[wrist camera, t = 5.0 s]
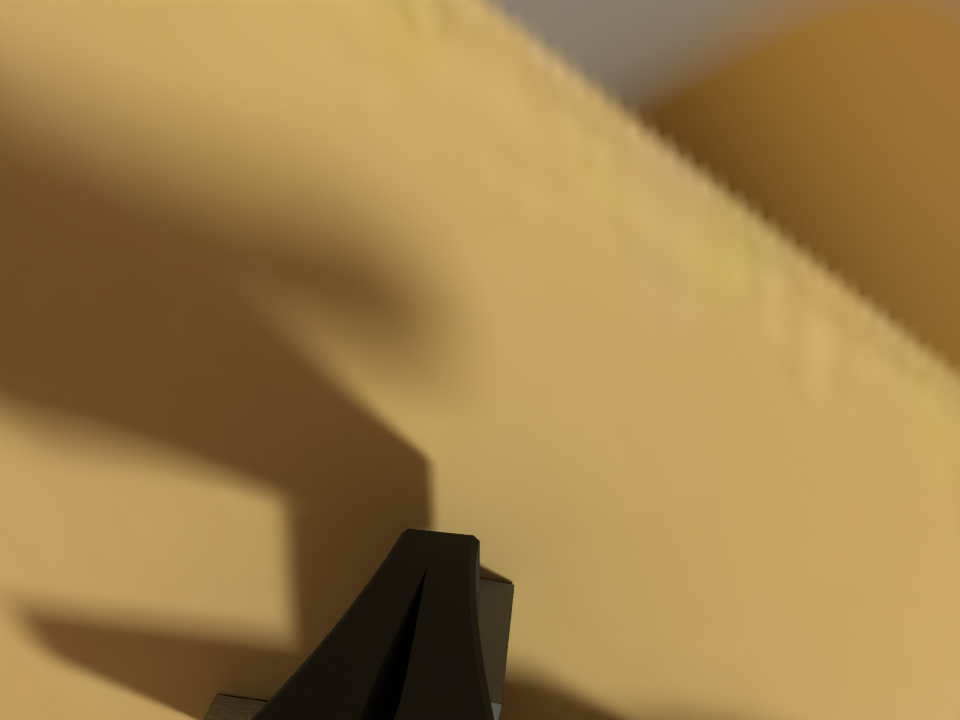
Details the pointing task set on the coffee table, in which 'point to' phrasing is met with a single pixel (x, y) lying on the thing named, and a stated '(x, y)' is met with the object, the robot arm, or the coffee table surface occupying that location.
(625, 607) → the coffee table surface
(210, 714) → the gray u-shaped bracket
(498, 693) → the plug
